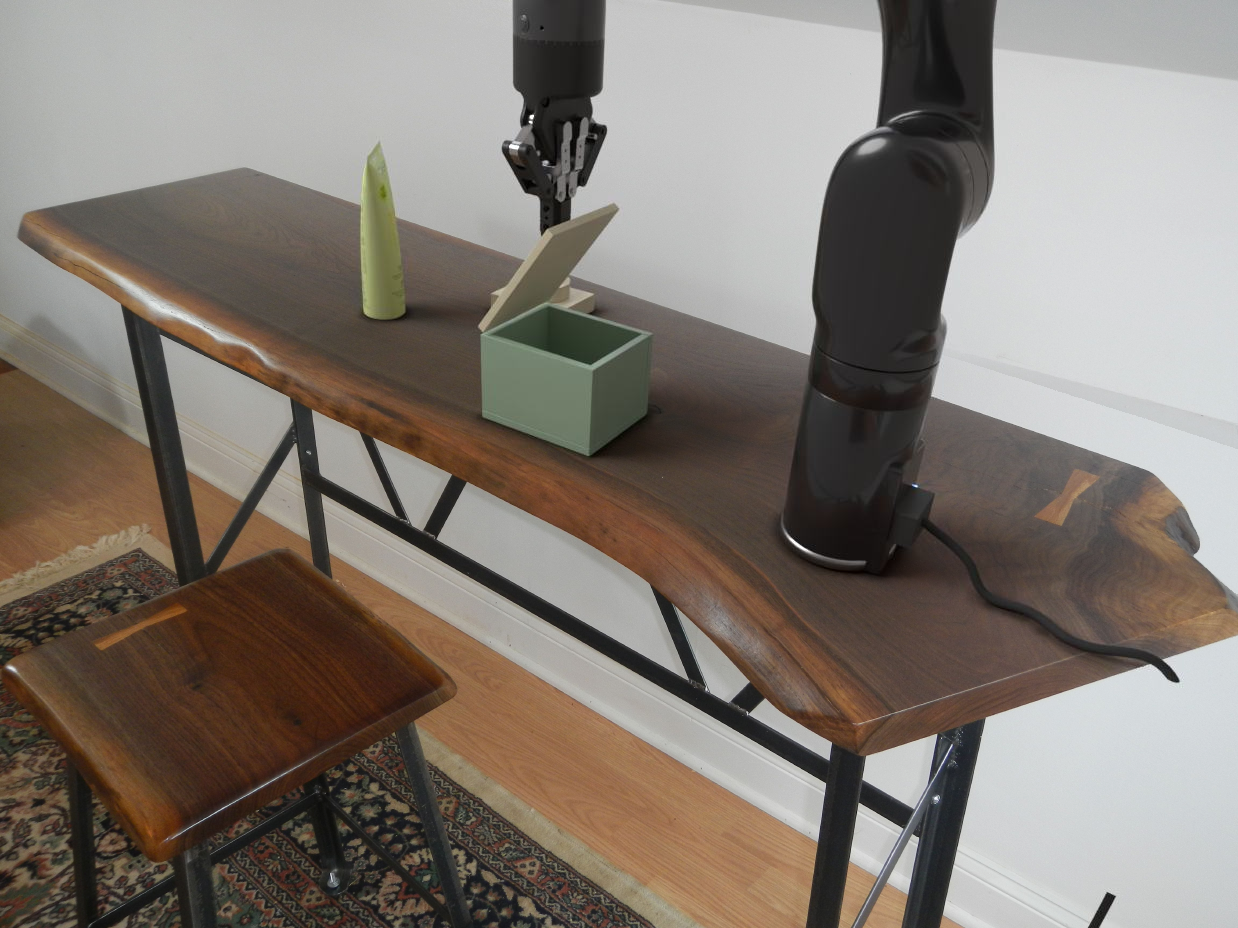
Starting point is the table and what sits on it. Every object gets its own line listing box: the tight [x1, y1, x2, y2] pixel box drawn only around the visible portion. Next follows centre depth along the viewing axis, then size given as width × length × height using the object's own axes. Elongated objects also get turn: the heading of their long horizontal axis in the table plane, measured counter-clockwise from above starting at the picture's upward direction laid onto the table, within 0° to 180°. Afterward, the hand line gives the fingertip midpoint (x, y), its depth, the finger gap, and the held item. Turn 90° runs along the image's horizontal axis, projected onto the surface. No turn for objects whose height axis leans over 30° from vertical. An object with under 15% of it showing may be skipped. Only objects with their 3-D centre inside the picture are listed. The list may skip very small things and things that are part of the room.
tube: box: [360, 139, 406, 321], centre depth 110 cm, size 6×5×20 cm
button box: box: [490, 276, 596, 317], centre depth 117 cm, size 10×8×4 cm
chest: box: [480, 302, 654, 457], centre depth 93 cm, size 13×11×9 cm
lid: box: [477, 202, 620, 333], centre depth 88 cm, size 13×11×1 cm
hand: (555, 239), depth 87 cm, fingers closed
